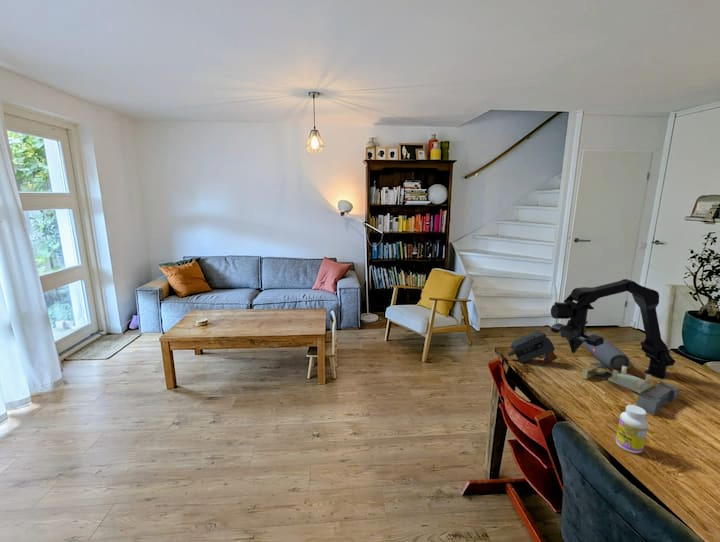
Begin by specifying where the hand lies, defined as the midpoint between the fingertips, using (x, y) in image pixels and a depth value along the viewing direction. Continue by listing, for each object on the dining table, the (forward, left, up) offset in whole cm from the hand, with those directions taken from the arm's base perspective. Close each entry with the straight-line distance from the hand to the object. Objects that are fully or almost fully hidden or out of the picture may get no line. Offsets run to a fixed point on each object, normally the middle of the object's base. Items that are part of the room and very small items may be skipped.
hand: (573, 352), depth 143 cm
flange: (-9, +6, -9) cm, 14 cm away
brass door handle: (-6, +6, -9) cm, 12 cm away
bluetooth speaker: (-22, +2, -10) cm, 24 cm away
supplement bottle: (+30, +34, -9) cm, 46 cm away
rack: (-12, +17, -9) cm, 23 cm away
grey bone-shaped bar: (-4, +28, -9) cm, 30 cm away
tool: (+6, -15, -10) cm, 19 cm away
